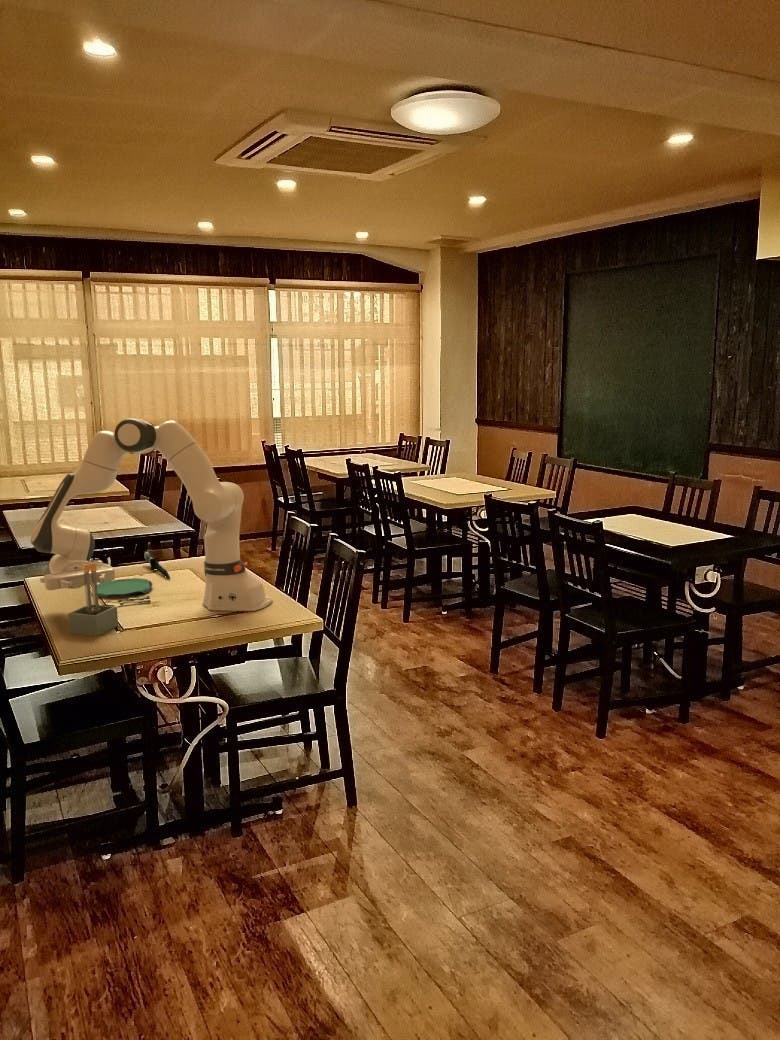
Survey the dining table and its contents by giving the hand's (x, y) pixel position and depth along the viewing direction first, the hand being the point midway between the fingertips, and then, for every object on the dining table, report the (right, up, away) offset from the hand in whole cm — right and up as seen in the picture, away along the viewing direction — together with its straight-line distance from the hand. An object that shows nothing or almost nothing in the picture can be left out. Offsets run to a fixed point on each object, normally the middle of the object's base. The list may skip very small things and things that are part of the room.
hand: (86, 583), depth 236 cm
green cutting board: (-1, -7, +37) cm, 37 cm away
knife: (+2, -1, +67) cm, 67 cm away
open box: (+3, -14, -1) cm, 14 cm away
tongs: (+2, -13, -1) cm, 13 cm away
